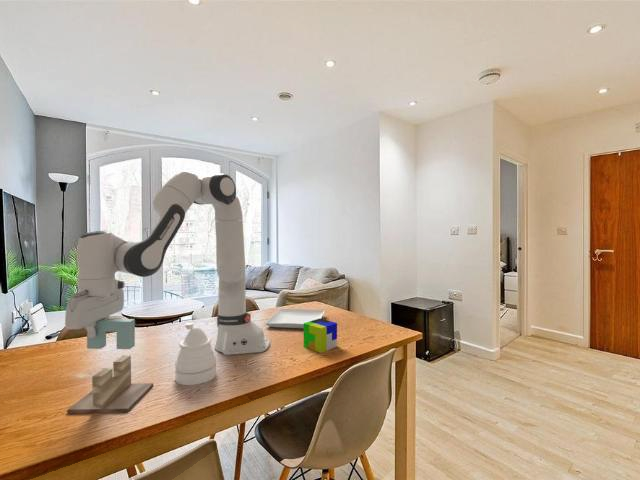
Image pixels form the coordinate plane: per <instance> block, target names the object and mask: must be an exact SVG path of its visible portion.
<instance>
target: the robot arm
mask: <svg viewBox="0 0 640 480" xmlns="http://www.w3.org/2000/svg"><path fill="white" fill-rule="evenodd" d="M193 204H196V205H200V206H201V205H212V207H213V209H214V222H215V223H214V226H215V227H214V228H215V244H216V245H215V247H216V249H215V253H216V255H215V256H216V258H215V259H216V274H217V276H218V290H217V291H218V293H217V299H218V300H217V301H218V303H217V304H218V305H217V307H218V313H217V315H216V316H217V317H216V327H217V336H216V340H215V345H214V350H215V351H217V352H219V353H222V354H223V355H225V356H230V355H233V356H234V355H241V354H254V353H263V352H265V351H266V350H268V349H269V347H270V339H269V338H267V337H265V333H264V330H263V328H262V327H260V326H259V325H257V324H256V323H254V322H253V321H252V319H251V317H252V316H251V314H252V313H251V312H247V311H246V310H247V308H246V306H247V305H246V300H247V299H246V298H247V297H246V293H247V291H246V256H245V239H244V237H245V236H244V221H243V219H244V218H243V211H242V206H241V201H240V199H239V197H238V196H237V187H236V184H235V181H234V180H233V178H232V177H231V176H230V175H228V174H226V173H215V174H206V175H203V176H198V175H197V174H195V173H194V172H192V171H190V170H181V171H179V172H177V173H176V174H175V175H173V176H172V177H171V178H169V180H168V181H167V182H166V183H165V184H164V185H163V186H162V187H161V188H160V189H159V191H157V193H156V195H155V196H154V198H153V201H152V205H153V209H154V211H155V213H157V215H158V216H160V217H159V221H158V222H157V223H156V225H155V226H154V228H153V229H152V231H151V232H150V233H149V235H148V237H147V238H145V239H143V240H141V241H129V240H127V239H124V238H121V237H120V236H118V235H115V234H114V233H112V232H111V231H110V230H98V231H97V230H96V231H90V232H85V233H83V234H82V235H81V236H79V238H78V241H77V250H76V264H77V267H78V274H77V277H76V278H77V279H76V280H77V283H76V284H77V292H76V293H75V292H74V293H73V294H72V296H71V297H70V298H69V299H68V302H67V305H66V308H65V316H64V317H65V318H64V319H65V320H64V321H65V322H64V326H65V328H66V329H68V330H81V329H83V328H85V330H86V333H87V332H88V337H89V338H94V337H96V336H98V330H95V327H94V326H95V325H96V321H99V320H101V319H110V316H112V315H114V314H117V313H119V312H121V311H123V310H124V309H123V308H124V305H125V304H124V303H125V292H124V288H125V285H126V284H125V281H123V280H120V279H116V273H117V272H120V273H125V274H132V275H134V276H137V277H142V278H145V277H151V276H152V275H155V274H156V273H157V272H158V271H159V270H160V268H161V267H162V265H163V263H164V260H165V256H166V253H167V250H168V248H169V247H170V244H171V243H172V242H173V240H174V238H175V236H176V235H177V233H178V232H179V231H180V228H181V226H182V225H183V222H184V220H185V219H186V218H185V217H186V214H187V212H188V210H189V209H190V208H191V206H192V205H193Z"/></svg>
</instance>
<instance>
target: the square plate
mask: <svg viewBox="0 0 640 480" xmlns="http://www.w3.org/2000/svg"><path fill="white" fill-rule="evenodd" d="M325 313H326V310H320V309H307V308H306V309H305V308H279V309H277V310H276V311H274V313H273V314H272V315H271V316H270V317H269V318H268V319H267V320H266V321H265V322H264V324H265V325H266V326H267V327H271V328H281V329H282V328H283V329H301V330H302V329H303V330H304V323H306V322H309V321H313V320H316V319H319V318H320V319H323V316H324V314H325Z"/></svg>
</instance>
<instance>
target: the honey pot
mask: <svg viewBox="0 0 640 480" xmlns="http://www.w3.org/2000/svg"><path fill="white" fill-rule="evenodd" d="M185 328H186V329H187V330H189V331H188V332H187V334H186V336H185V337H184V339H182V340H181V341H179V343H178V346H179V348H180V351H178V355H177V359H176V361H175V364H174V365H175V374H174V375H175V376H174V377H175V381H176V383H178V384H180V385H184V386H191V385H199V384H204V383H206V382H208V381H211V380H212V379H214V378H215V376H216V375H217V357H216V355H215V352H214V348H213V347H212V345H211V343H212V340H211V338H210V337H208V336H207V334H206V333H205V331H204V330H203V329H202V328H201V327H199V326H194V322H186V323H185ZM203 382H204V383H203Z"/></svg>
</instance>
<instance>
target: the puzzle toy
mask: <svg viewBox="0 0 640 480" xmlns="http://www.w3.org/2000/svg"><path fill="white" fill-rule="evenodd" d="M337 347H338V323H337V322H334V321H332V320H328V319H324V318H321V319H320V318H319V319H316V320H313V321H309V322H306V323H304V329H303V348H306V349H309V350H312V351H314V352H317V353H320V354H322V353H324V351H325V352H326V351H329V350H331V349H334V348H337Z"/></svg>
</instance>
